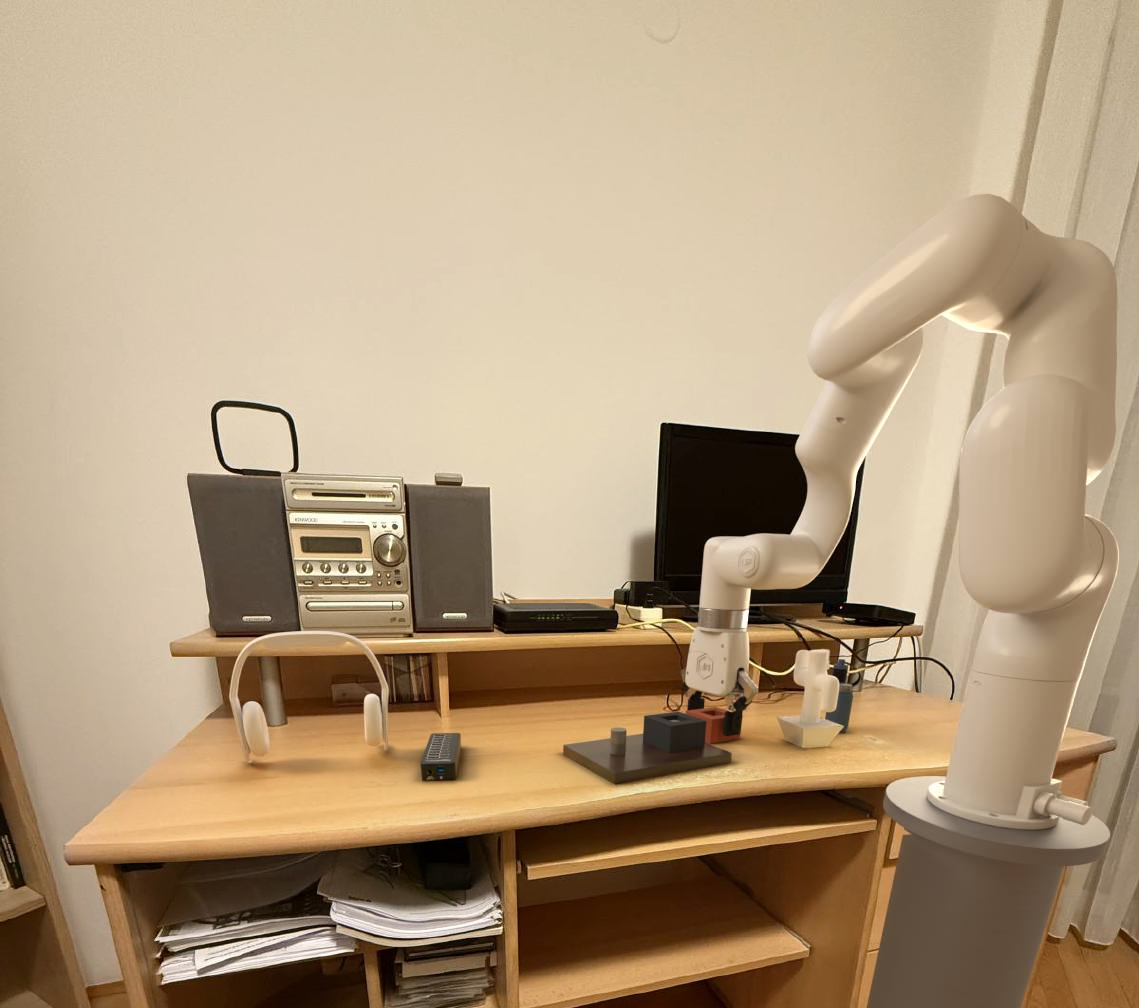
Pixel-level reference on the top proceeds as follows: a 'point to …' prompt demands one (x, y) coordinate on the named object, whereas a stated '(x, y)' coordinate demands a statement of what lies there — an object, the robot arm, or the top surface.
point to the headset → (252, 715)
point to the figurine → (813, 701)
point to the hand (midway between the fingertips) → (712, 727)
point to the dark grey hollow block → (674, 731)
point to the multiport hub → (441, 757)
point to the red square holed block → (713, 724)
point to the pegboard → (639, 757)
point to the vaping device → (842, 697)
